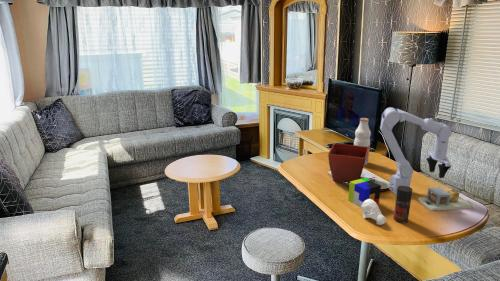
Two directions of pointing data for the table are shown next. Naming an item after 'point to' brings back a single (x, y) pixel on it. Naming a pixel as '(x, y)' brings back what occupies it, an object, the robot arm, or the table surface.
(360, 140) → the white bottle
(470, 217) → the table surface
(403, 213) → the deodorant
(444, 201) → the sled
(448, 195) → the deck tunnel
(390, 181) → the robot arm
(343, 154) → the plant pot
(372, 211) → the white rounded lumpy piece
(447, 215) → the table surface
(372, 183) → the puzzle toy
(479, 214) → the table surface
